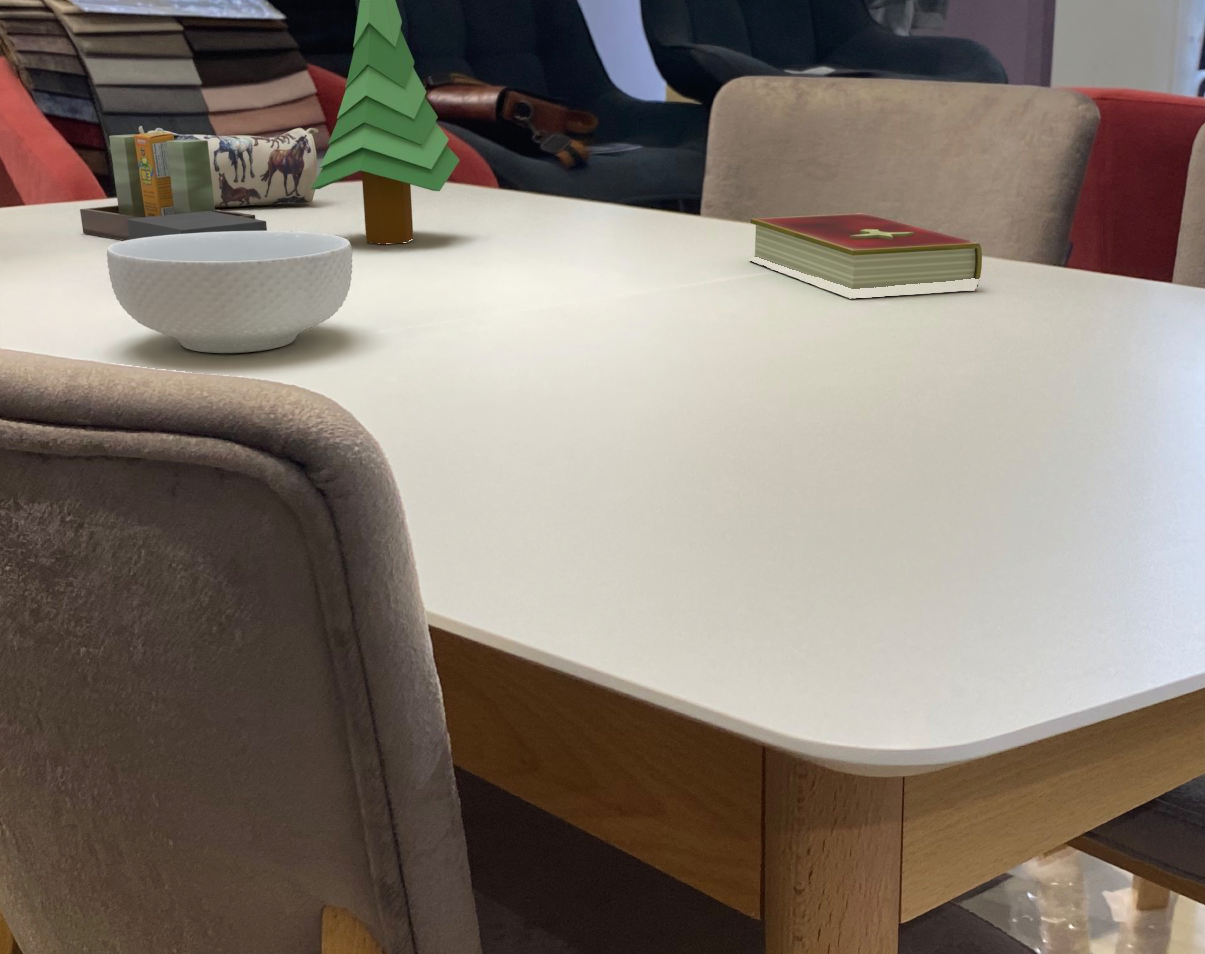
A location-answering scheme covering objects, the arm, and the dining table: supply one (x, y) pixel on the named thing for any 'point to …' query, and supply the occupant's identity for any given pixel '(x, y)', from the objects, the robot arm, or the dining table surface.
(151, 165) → the supplement box
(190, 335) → the cereal bowl
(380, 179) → the decorative tree
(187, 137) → the pencil case
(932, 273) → the hardcover book
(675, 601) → the dining table surface
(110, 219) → the book rack
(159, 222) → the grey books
